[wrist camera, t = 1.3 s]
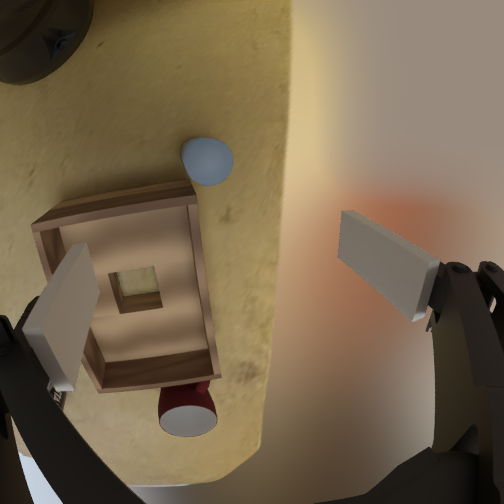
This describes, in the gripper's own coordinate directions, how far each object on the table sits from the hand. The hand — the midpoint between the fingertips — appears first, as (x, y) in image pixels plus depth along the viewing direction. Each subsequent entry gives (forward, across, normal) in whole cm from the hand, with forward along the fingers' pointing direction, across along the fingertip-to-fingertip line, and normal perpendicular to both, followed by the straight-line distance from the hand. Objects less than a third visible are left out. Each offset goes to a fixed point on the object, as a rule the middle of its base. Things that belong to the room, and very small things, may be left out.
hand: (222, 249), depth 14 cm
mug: (+21, -5, -28) cm, 35 cm away
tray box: (+21, -8, -11) cm, 25 cm away
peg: (+21, +1, +3) cm, 21 cm away
